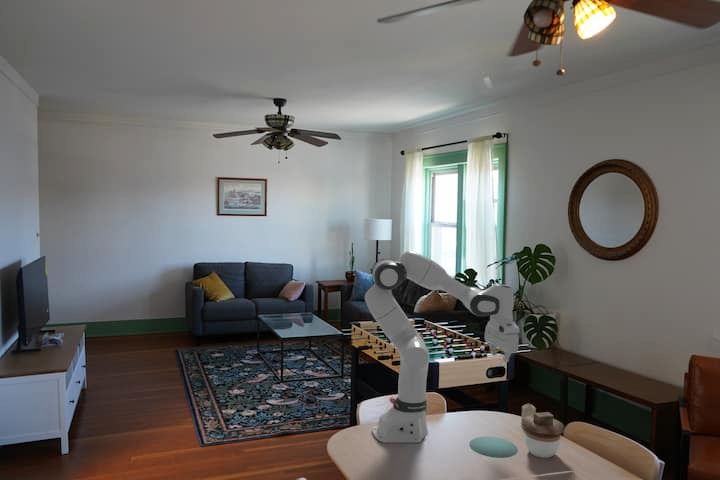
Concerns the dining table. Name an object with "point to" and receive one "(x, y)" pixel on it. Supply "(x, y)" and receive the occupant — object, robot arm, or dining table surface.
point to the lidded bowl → (542, 444)
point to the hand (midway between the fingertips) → (499, 358)
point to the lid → (543, 424)
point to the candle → (527, 411)
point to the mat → (493, 447)
